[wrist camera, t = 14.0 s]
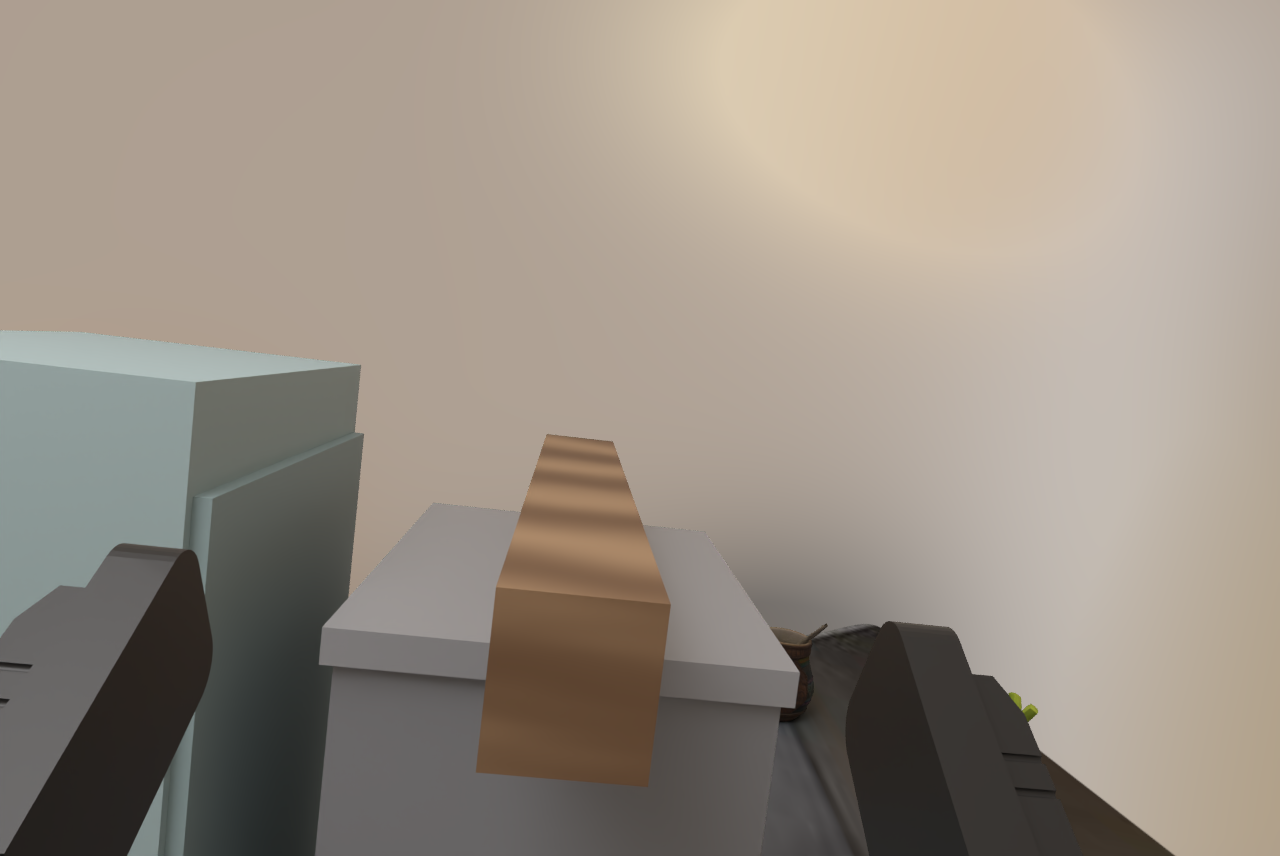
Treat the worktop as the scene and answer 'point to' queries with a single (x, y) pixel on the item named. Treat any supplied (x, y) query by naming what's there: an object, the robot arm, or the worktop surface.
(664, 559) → the gray box
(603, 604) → the walnut rail
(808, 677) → the mate gourd
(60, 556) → the teal cabinet
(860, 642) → the worktop surface
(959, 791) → the robot arm
